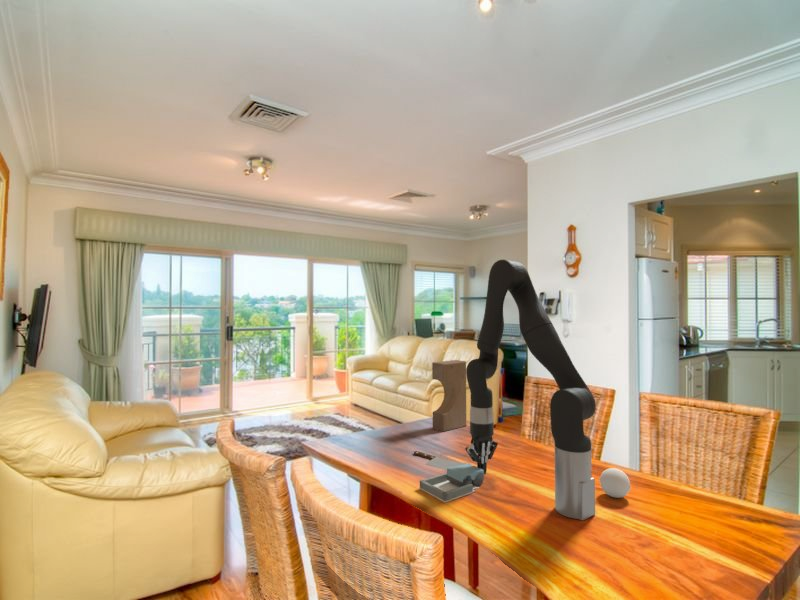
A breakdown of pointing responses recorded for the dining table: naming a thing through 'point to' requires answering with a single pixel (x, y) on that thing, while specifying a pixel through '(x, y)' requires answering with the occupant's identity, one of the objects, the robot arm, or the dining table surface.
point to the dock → (445, 488)
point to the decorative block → (450, 395)
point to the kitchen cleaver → (438, 461)
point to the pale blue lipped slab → (465, 475)
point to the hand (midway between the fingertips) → (482, 473)
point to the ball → (615, 482)
